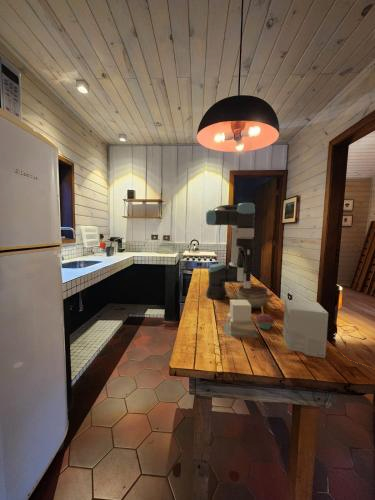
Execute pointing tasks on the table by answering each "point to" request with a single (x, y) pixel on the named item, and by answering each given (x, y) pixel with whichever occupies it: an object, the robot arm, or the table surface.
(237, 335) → the slate board
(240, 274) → the robot arm
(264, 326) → the cupcake
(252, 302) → the cooking pot
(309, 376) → the table surface
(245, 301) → the cream block
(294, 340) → the supplement box
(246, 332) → the maple base block
